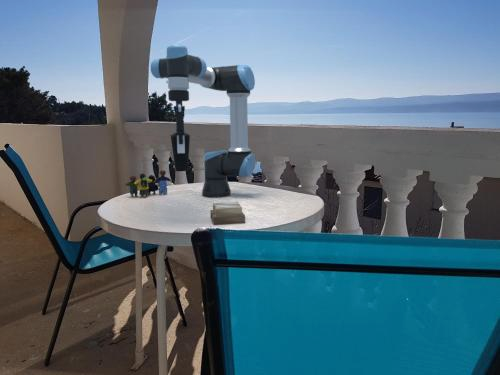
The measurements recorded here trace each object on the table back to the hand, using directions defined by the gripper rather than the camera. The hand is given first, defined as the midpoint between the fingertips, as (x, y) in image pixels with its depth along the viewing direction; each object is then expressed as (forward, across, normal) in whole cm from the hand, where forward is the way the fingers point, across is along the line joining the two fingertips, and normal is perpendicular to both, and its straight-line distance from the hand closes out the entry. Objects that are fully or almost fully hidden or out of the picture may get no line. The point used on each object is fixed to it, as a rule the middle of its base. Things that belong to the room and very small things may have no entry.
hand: (180, 152), depth 141 cm
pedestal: (+27, +3, +17) cm, 32 cm away
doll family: (+27, -53, -15) cm, 62 cm away
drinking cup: (+7, 0, 0) cm, 7 cm away
